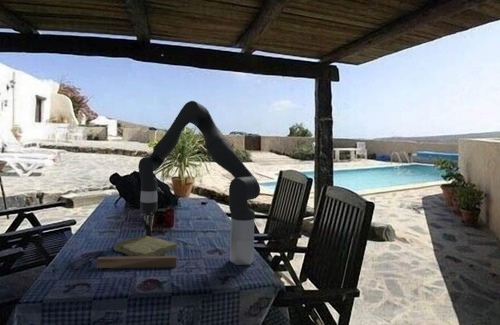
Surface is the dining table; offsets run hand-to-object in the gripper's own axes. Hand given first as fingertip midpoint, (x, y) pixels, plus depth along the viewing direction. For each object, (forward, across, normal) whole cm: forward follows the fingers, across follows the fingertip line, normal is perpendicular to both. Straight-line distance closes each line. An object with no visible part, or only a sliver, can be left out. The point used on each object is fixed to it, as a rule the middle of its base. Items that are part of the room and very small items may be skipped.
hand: (148, 237), depth 171 cm
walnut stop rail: (+1, -34, 0) cm, 34 cm away
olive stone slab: (+2, -14, 0) cm, 15 cm away
